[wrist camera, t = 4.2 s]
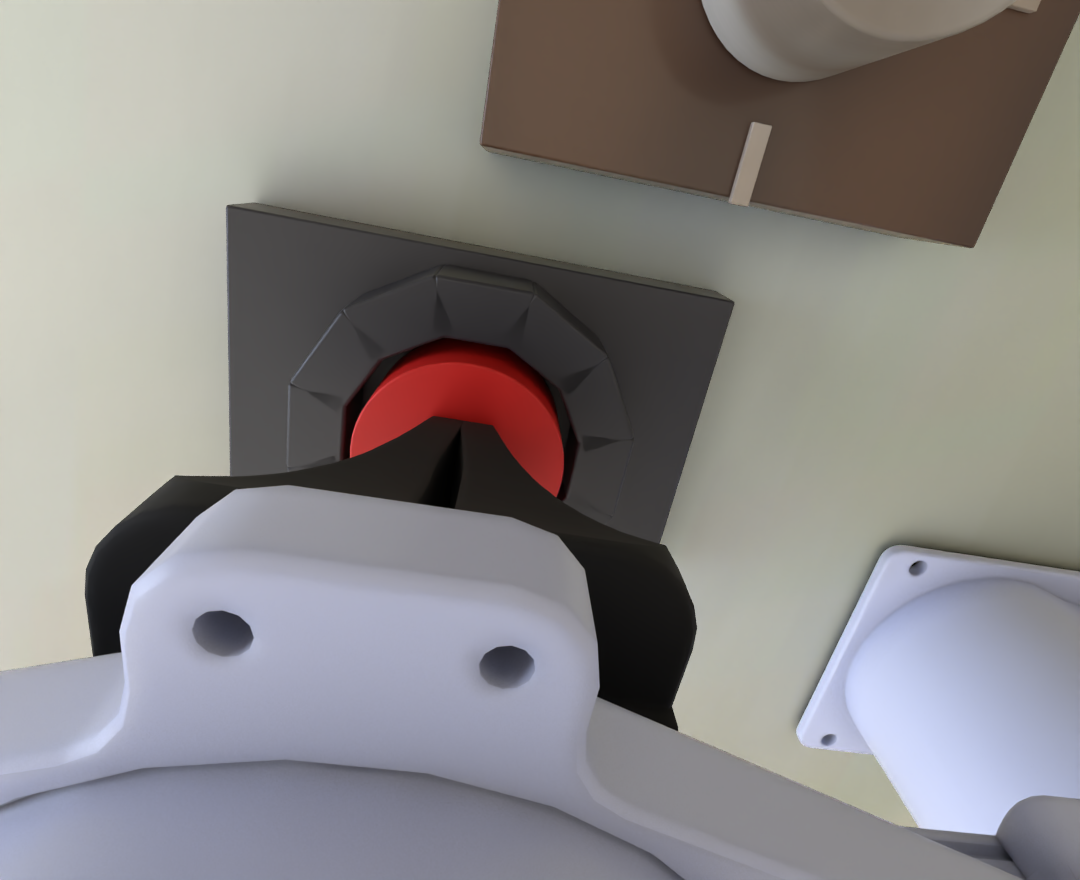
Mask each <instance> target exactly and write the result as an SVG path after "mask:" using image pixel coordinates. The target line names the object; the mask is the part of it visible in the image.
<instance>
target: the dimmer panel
mask: <svg viewBox="0 0 1080 880" xmlns="http://www.w3.org/2000/svg"><path fill="white" fill-rule="evenodd" d="M1079 13H1080V0H1016V1H1015V2H1014V3H1012V4H1011V5H1010V6H1009V7H1007V8H1006V9H1005V10H1003V11H1002V12H1000V13H998V14H997V15H995V16H993V17H992V18H990V19H988V20H987V21H985V22H984V23H982V24H979V25H977V26H975V27H973V28H971V29H968V30H966V31H964V32H962V33H959V34H956V35H953V36H950V37H947V38H944V39H941V40H938V41H935V42H932V43H929V44H926V45H923V46H920V47H917V48H914V49H911V50H908V51H905V52H902V53H899V54H896V55H893V56H890V57H887V58H884V59H881V60H878V61H875V62H872V63H869V64H866V65H863V66H860V67H857V68H854V69H851V70H848V71H845V72H842V73H839V74H836V75H833V76H830V77H826V78H823V79H820V80H813V81H807V82H788V81H781V80H775V79H772V78H769V77H766V76H763V75H761V74H759V73H757V72H755V71H753V70H751V69H749V68H748V67H746V66H745V65H744V64H742V63H741V62H740V61H738V60H737V59H736V58H735V57H734V56H733V55H732V54H731V53H730V52H729V51H728V50H727V49H726V48H725V46H724V45H723V44H722V42H721V41H720V40H719V38H718V37H717V35H716V33H715V31H714V30H713V28H712V26H711V24H710V22H709V20H708V17H707V15H706V12H705V10H704V7H703V3H702V0H499V2H498V10H497V17H496V25H495V32H494V40H493V47H492V55H491V62H490V70H489V77H488V85H487V92H486V100H485V107H484V115H483V122H482V130H481V137H480V145H481V146H482V147H483V148H484V149H485V150H486V151H488V152H492V153H497V154H502V155H506V156H511V157H516V158H521V159H526V160H530V161H535V162H540V163H545V164H550V165H554V166H559V167H564V168H569V169H574V170H578V171H583V172H588V173H593V174H598V175H602V176H607V177H612V178H617V179H622V180H626V181H631V182H636V183H641V184H646V185H650V186H655V187H660V188H665V189H670V190H674V191H679V192H684V193H689V194H693V195H698V196H703V197H708V198H713V199H717V200H722V201H727V202H728V203H730V204H735V205H740V206H744V207H748V206H751V207H756V208H761V209H765V210H770V211H775V212H780V213H785V214H789V215H794V216H799V217H804V218H809V219H813V220H818V221H823V222H828V223H833V224H837V225H842V226H847V227H852V228H857V229H861V230H866V231H871V232H876V233H881V234H885V235H890V236H895V237H900V238H906V239H913V240H919V241H926V242H933V243H940V244H946V245H953V246H960V247H966V248H973V247H974V246H975V244H976V242H977V240H978V237H979V235H980V233H981V231H982V228H983V226H984V224H985V222H986V220H987V217H988V215H989V213H990V211H991V209H992V206H993V204H994V202H995V200H996V197H997V195H998V193H999V191H1000V189H1001V186H1002V184H1003V182H1004V180H1005V177H1006V175H1007V173H1008V171H1009V169H1010V166H1011V164H1012V162H1013V160H1014V157H1015V155H1016V153H1017V151H1018V149H1019V146H1020V144H1021V142H1022V140H1023V137H1024V135H1025V133H1026V131H1027V129H1028V126H1029V124H1030V122H1031V120H1032V117H1033V115H1034V113H1035V111H1036V109H1037V106H1038V104H1039V102H1040V100H1041V98H1042V95H1043V93H1044V91H1045V89H1046V86H1047V84H1048V82H1049V80H1050V78H1051V75H1052V73H1053V71H1054V69H1055V66H1056V64H1057V62H1058V60H1059V58H1060V55H1061V53H1062V51H1063V49H1064V46H1065V44H1066V42H1067V40H1068V38H1069V35H1070V33H1071V31H1072V29H1073V26H1074V24H1075V22H1076V20H1077V18H1078V15H1079Z"/></svg>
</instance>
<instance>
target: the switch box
mask: <svg viewBox="0 0 1080 880" xmlns="http://www.w3.org/2000/svg"><path fill="white" fill-rule="evenodd" d="M226 227H227V293H228V359H229V425H230V476H252V475H266V474H276V473H284V472H292V471H298V470H303V469H307V468H312V467H317V466H322V465H327V464H331V463H335V462H339V461H342V460H345V459H348V458H350V445H351V438H352V433H353V430H354V427H355V424H356V421H357V419H358V417H359V415H360V413H361V411H362V409H363V408H364V406H365V405H366V404H367V402H368V401H369V399H370V398H371V396H372V395H373V393H374V392H375V390H376V389H377V387H378V386H379V384H380V383H381V381H382V380H383V378H384V377H385V376H386V374H387V373H388V371H389V370H390V369H391V368H392V367H393V366H394V365H395V364H396V362H398V361H399V360H400V359H401V358H402V357H404V356H405V355H406V354H408V353H409V352H411V351H413V350H414V349H416V348H418V347H420V346H423V345H425V344H427V343H430V342H434V341H437V340H441V339H448V338H451V339H457V340H462V341H468V342H474V343H480V344H485V345H491V346H497V347H503V348H507V349H509V350H511V351H512V352H514V353H515V354H516V355H517V356H518V357H520V358H521V359H522V360H523V361H525V362H526V363H527V364H528V365H530V366H531V367H532V368H533V369H534V370H536V371H537V372H538V373H539V375H540V376H541V377H542V378H543V380H544V382H545V383H546V385H547V386H548V388H549V390H550V392H551V395H552V397H553V399H554V403H555V406H556V410H557V415H558V421H559V427H560V433H561V439H562V445H563V453H564V471H563V477H562V482H561V486H560V489H559V492H558V494H557V497H556V498H558V499H559V500H561V501H562V502H564V503H565V504H567V505H568V506H570V507H572V508H574V509H575V510H577V511H579V512H580V513H582V514H584V515H585V516H587V517H589V518H591V519H593V520H595V521H597V522H600V523H602V524H604V525H607V526H609V527H611V528H614V529H616V530H618V531H621V532H623V533H626V534H630V535H633V536H636V537H639V538H642V539H646V540H649V541H652V542H655V543H659V544H660V540H661V537H662V534H663V531H664V528H665V524H666V521H667V518H668V515H669V512H670V508H671V505H672V502H673V499H674V496H675V492H676V489H677V486H678V483H679V480H680V476H681V473H682V470H683V467H684V463H685V460H686V457H687V454H688V451H689V447H690V444H691V441H692V438H693V435H694V431H695V428H696V425H697V422H698V419H699V415H700V412H701V409H702V406H703V403H704V399H705V396H706V393H707V390H708V387H709V383H710V380H711V377H712V374H713V371H714V367H715V364H716V361H717V358H718V355H719V351H720V348H721V345H722V342H723V338H724V335H725V332H726V329H727V326H728V322H729V319H730V316H731V313H732V310H733V306H734V301H732V300H730V299H728V298H727V297H725V296H723V295H721V294H720V293H718V292H716V291H712V290H707V289H702V288H696V287H691V286H686V285H681V284H676V283H670V282H665V281H660V280H655V279H650V278H644V277H639V276H634V275H629V274H623V273H618V272H613V271H608V270H603V269H597V268H592V267H587V266H582V265H576V264H571V263H566V262H561V261H556V260H550V259H545V258H540V257H535V256H530V255H524V254H519V253H514V252H509V251H503V250H498V249H493V248H488V247H483V246H477V245H472V244H467V243H462V242H457V241H451V240H446V239H441V238H436V237H430V236H425V235H420V234H415V233H410V232H404V231H399V230H394V229H389V228H384V227H378V226H373V225H368V224H363V223H357V222H352V221H347V220H342V219H337V218H331V217H326V216H321V215H316V214H311V213H305V212H300V211H295V210H290V209H284V208H279V207H274V206H269V205H264V204H258V203H245V204H233V205H227V207H226Z"/></svg>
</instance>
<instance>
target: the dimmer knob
mask: <svg viewBox="0 0 1080 880" xmlns="http://www.w3.org/2000/svg"><path fill="white" fill-rule="evenodd" d="M1015 1H1016V0H702V3H703V7H704V10H705V12H706V15H707V17H708V20H709V22H710V24H711V26H712V28H713V30H714V31H715V33H716V35H717V37H718V38H719V40H720V41H721V42H722V44H723V45H724V46H725V48H726V49H727V50H728V51H729V52H730V53H731V54H732V55H733V56H734V57H735V58H736V59H737V60H738V61H740V62H741V63H742V64H744V65H745V66H746V67H748V68H749V69H751V70H753V71H755V72H757V73H759V74H761V75H763V76H766V77H769V78H772V79H775V80H781V81H788V82H807V81H813V80H820V79H823V78H826V77H830V76H833V75H836V74H839V73H842V72H845V71H848V70H851V69H854V68H857V67H860V66H863V65H866V64H869V63H872V62H875V61H878V60H881V59H884V58H887V57H890V56H893V55H896V54H899V53H902V52H905V51H908V50H911V49H914V48H917V47H920V46H923V45H926V44H929V43H932V42H935V41H938V40H941V39H944V38H947V37H950V36H953V35H956V34H959V33H962V32H964V31H966V30H968V29H971V28H973V27H975V26H977V25H979V24H982V23H984V22H985V21H987V20H988V19H990V18H992V17H993V16H995V15H997V14H998V13H1000V12H1002V11H1003V10H1005V9H1006V8H1007V7H1009V6H1010V5H1011V4H1012V3H1014V2H1015Z"/></svg>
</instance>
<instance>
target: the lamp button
mask: <svg viewBox="0 0 1080 880" xmlns="http://www.w3.org/2000/svg"><path fill="white" fill-rule="evenodd" d="M432 416H438V417H444V418H451V419H457V420H463V421H469V422H476V423H482V424H488V425H493V426H494V428H495V429H496V431H497V432H498V434H499V435H500V437H501V439H502V440H503V442H504V443H505V445H506V447H507V448H508V450H509V451H510V452H511V454H512V455H513V456H514V458H515V459H516V460H517V461H518V462H519V464H520V465H521V466H522V467H523V468H524V469H525V470H526V471H527V472H528V473H529V474H530V475H531V477H532V478H533V479H535V480H536V481H537V482H538V483H539V484H540V485H541V486H542V487H544V488H545V489H546V490H547V491H549V492H550V493H551V494H552V495H554V496H555V497H557V494H558V492H559V489H560V486H561V482H562V477H563V471H564V453H563V445H562V439H561V433H560V427H559V421H558V415H557V410H556V406H555V403H554V399H553V397H552V395H551V392H550V390H549V388H548V386H547V385H546V383H545V382H544V380H543V378H542V377H541V376H540V375H539V373H538V372H537V371H536V370H534V369H533V368H532V367H531V366H530V365H528V364H527V363H526V362H525V361H523V360H522V359H521V358H520V357H518V356H517V355H516V354H515V353H514V352H512V351H511V350H509V349H507V348H503V347H497V346H491V345H485V344H480V343H474V342H468V341H462V340H457V339H451V338H448V339H441V340H437V341H434V342H430V343H427V344H425V345H423V346H420V347H418V348H416V349H414V350H413V351H411V352H409V353H408V354H406V355H405V356H404V357H402V358H401V359H400V360H399V361H398V362H396V364H395V365H394V366H393V367H392V368H391V369H390V370H389V371H388V373H387V374H386V376H385V377H384V378H383V380H382V381H381V383H380V384H379V386H378V387H377V389H376V390H375V392H374V393H373V395H372V396H371V398H370V399H369V401H368V402H367V404H366V405H365V406H364V408H363V409H362V411H361V413H360V415H359V417H358V419H357V421H356V424H355V427H354V430H353V433H352V438H351V445H350V458H351V457H354V456H357V455H360V454H363V453H365V452H368V451H370V450H372V449H374V448H376V447H378V446H381V445H383V444H385V443H387V442H389V441H391V440H393V439H395V438H397V437H399V436H401V435H402V434H404V433H406V432H407V431H409V430H411V429H413V428H414V427H416V426H417V425H419V424H421V423H422V422H424V421H425V420H427V419H429V418H430V417H432Z"/></svg>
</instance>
